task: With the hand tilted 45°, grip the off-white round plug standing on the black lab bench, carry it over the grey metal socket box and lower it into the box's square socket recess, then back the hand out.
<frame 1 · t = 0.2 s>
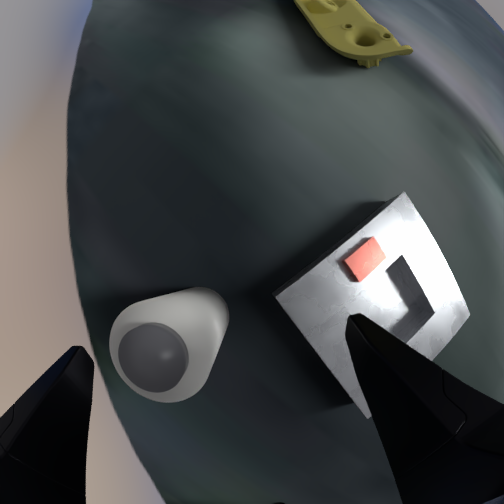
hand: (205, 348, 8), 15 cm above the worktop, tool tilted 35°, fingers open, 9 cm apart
socket box: (376, 305, 23), on the worktop
plug: (200, 315, 22), on the worktop
plastic component: (341, 34, 26), on the worktop
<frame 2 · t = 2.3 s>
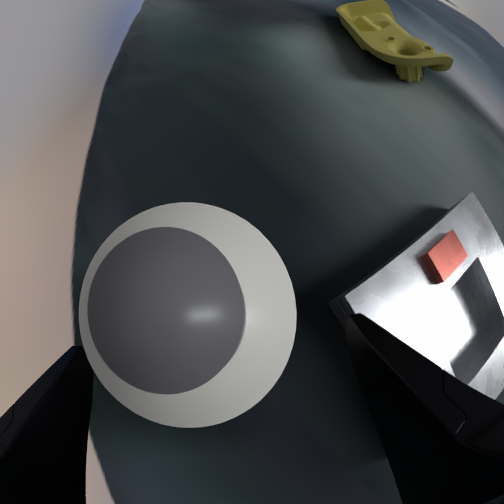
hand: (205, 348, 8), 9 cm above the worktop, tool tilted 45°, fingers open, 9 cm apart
socket box: (445, 326, 16), on the worktop
plug: (229, 325, 16), on the worktop
plastic component: (384, 53, 25), on the worktop
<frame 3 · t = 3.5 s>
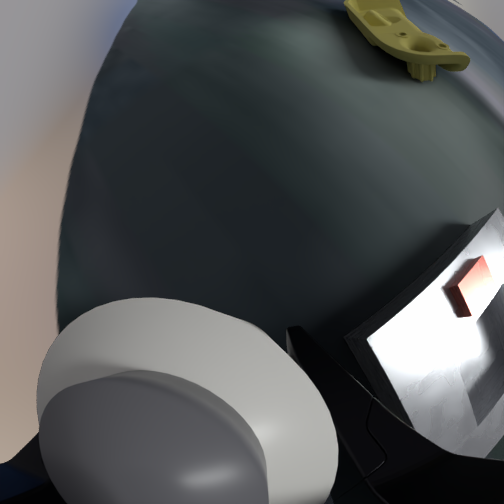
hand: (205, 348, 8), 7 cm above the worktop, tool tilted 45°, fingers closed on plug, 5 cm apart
socket box: (463, 354, 13), on the worktop
plug: (232, 363, 14), on the worktop, touching gripper
plastic component: (394, 50, 23), on the worktop
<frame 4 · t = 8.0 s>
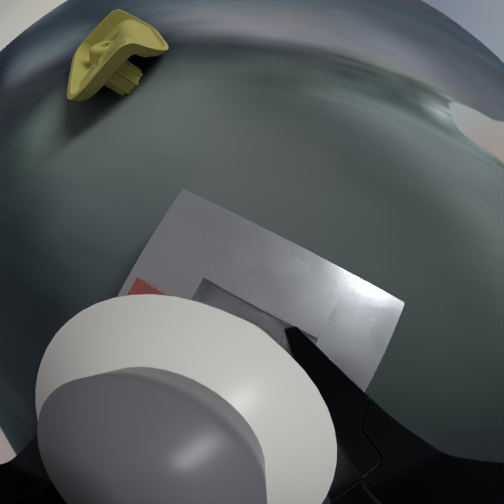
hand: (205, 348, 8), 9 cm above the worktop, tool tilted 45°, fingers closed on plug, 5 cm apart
socket box: (234, 357, 16), on the worktop
plug: (231, 362, 14), point 2 cm above the worktop, touching gripper
plastic component: (119, 71, 24), on the worktop
when the fingers open (8 cm above the worktop, at t = 8.3 s): plug stays where it is, resting on socket box.
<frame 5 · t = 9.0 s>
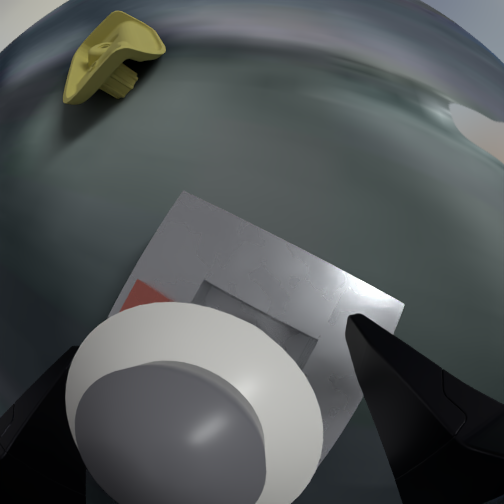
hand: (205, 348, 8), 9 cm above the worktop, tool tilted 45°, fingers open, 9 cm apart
socket box: (234, 359, 16), on the worktop
plug: (233, 361, 15), point 1 cm above the worktop, touching socket box
plastic component: (117, 73, 24), on the worktop
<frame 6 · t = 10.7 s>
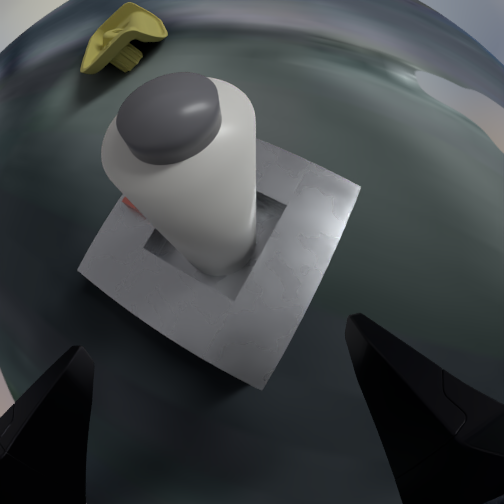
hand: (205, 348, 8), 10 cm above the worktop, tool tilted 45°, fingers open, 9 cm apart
socket box: (220, 243, 19), on the worktop
plug: (219, 239, 18), point 1 cm above the worktop, touching socket box
plastic component: (126, 53, 28), on the worktop
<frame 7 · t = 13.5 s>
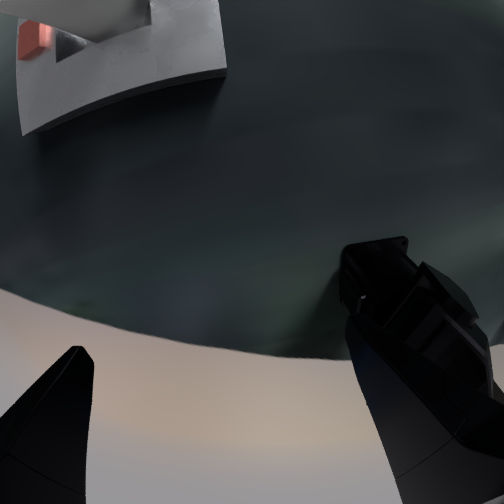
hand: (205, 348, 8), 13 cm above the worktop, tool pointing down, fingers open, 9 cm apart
socket box: (117, 16, 11), on the worktop
plug: (113, 13, 10), point 1 cm above the worktop, touching socket box
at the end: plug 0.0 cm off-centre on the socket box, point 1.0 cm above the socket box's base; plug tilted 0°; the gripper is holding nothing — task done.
